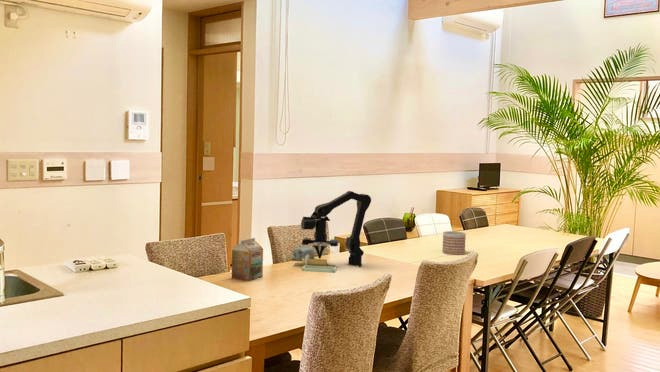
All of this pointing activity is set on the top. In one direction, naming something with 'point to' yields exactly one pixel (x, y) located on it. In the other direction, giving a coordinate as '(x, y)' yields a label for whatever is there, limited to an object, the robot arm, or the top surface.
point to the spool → (303, 252)
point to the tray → (319, 268)
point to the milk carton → (247, 260)
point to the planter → (454, 243)
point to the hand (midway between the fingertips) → (319, 258)
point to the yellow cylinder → (315, 262)
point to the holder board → (311, 265)
